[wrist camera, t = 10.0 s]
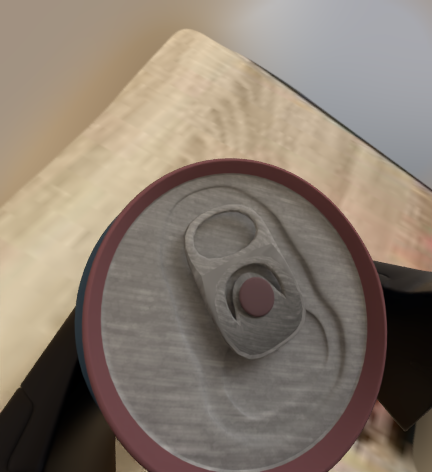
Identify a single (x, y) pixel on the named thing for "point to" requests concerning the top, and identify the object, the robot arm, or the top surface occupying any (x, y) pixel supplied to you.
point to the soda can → (232, 323)
